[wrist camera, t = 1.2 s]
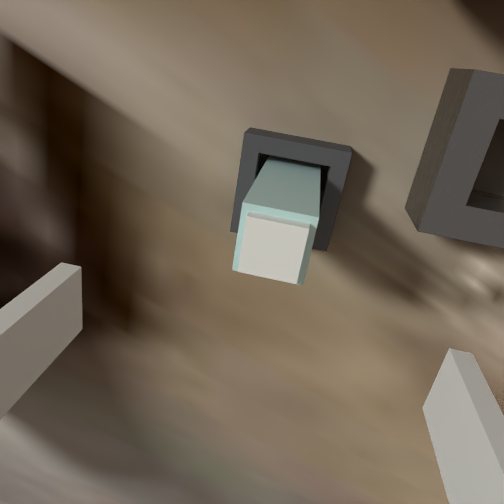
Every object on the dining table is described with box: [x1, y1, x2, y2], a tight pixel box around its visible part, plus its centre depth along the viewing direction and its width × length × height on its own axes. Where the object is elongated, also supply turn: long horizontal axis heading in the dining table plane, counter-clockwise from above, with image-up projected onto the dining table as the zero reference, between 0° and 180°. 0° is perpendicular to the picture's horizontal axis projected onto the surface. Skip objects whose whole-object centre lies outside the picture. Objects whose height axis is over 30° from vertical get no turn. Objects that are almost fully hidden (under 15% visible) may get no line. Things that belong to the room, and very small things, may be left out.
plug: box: [232, 156, 321, 285], centre depth 28 cm, size 4×4×13 cm
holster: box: [230, 128, 352, 251], centre depth 32 cm, size 8×8×2 cm
